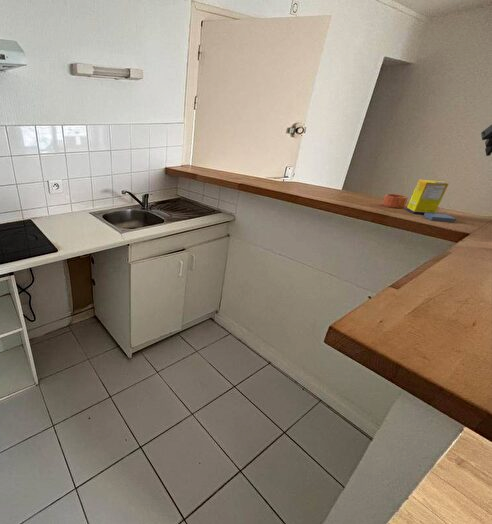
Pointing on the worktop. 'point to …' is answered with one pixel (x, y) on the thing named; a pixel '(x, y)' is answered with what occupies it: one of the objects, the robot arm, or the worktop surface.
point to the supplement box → (427, 196)
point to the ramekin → (394, 200)
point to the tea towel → (439, 217)
